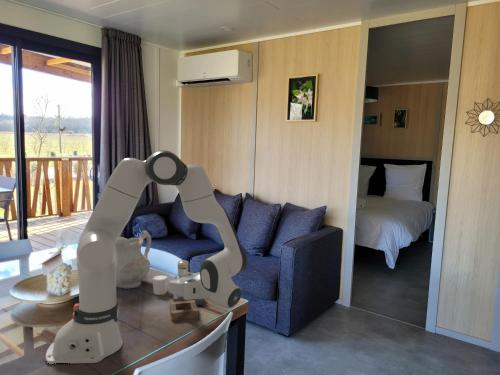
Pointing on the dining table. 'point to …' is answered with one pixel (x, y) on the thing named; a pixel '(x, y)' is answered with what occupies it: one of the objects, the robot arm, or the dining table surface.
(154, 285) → the shot glass
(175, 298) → the tray
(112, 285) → the robot arm
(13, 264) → the dining table surface
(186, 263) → the steel pin
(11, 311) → the dining table surface
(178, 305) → the socket block
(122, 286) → the ceramic pitcher
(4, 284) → the dining table surface
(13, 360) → the dining table surface
